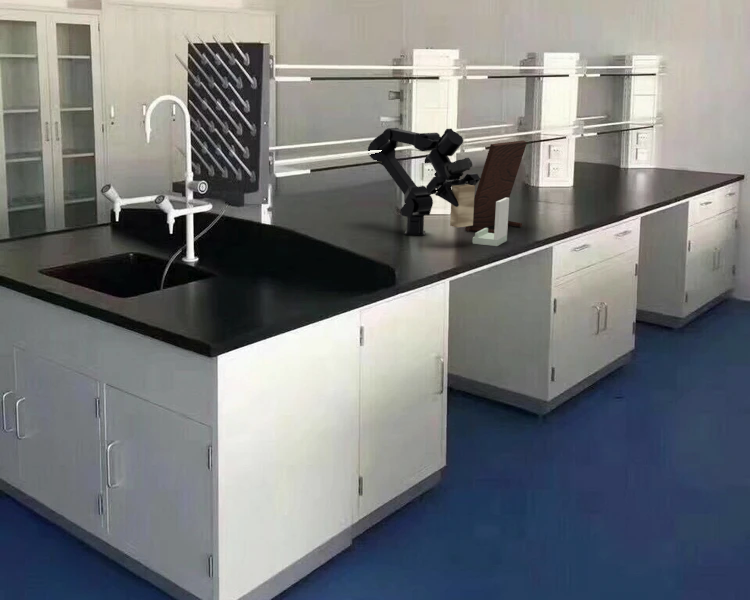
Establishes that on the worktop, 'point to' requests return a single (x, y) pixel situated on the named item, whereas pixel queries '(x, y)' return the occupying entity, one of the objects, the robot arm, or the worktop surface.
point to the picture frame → (496, 182)
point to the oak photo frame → (463, 206)
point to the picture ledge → (500, 226)
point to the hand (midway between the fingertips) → (465, 205)
